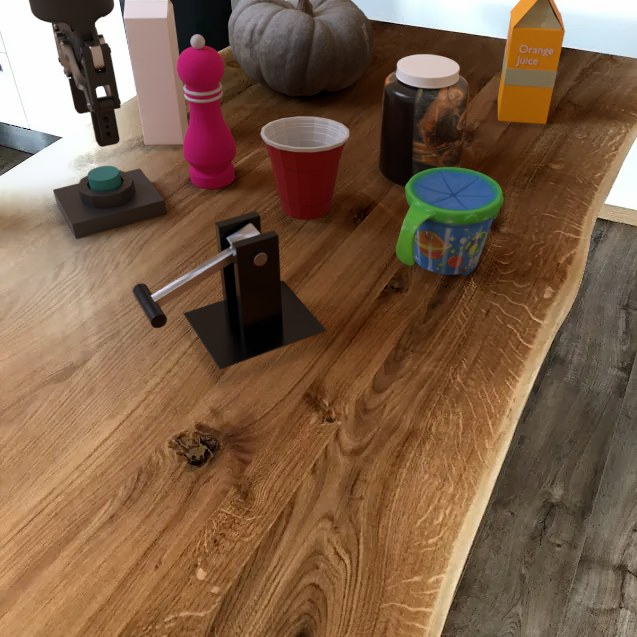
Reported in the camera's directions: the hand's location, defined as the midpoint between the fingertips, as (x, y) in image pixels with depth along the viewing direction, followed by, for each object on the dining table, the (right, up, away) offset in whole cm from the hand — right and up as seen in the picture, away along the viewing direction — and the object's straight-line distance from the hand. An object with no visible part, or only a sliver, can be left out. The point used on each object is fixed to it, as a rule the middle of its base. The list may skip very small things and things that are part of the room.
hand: (97, 127), depth 76 cm
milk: (-1, +8, +38) cm, 39 cm away
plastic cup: (+21, -6, +20) cm, 30 cm away
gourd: (+20, +22, +55) cm, 63 cm away
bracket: (+16, -21, +2) cm, 27 cm away
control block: (-5, -5, +21) cm, 22 cm away
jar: (+38, +2, +30) cm, 48 cm away
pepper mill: (+8, 0, +28) cm, 29 cm away
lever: (+12, -16, -5) cm, 21 cm away
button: (-5, -3, +19) cm, 20 cm away
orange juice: (+56, +14, +45) cm, 73 cm away
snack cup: (+38, -14, +11) cm, 42 cm away
